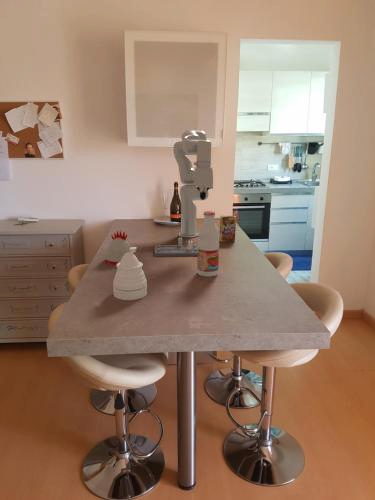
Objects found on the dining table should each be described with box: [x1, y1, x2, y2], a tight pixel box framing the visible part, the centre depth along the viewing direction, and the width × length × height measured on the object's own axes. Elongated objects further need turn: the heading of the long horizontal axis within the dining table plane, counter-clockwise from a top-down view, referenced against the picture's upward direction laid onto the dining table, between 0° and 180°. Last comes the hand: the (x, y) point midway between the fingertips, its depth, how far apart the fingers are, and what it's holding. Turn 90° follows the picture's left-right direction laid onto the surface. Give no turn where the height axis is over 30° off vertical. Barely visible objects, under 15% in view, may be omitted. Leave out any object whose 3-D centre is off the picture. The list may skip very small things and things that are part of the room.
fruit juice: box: [196, 210, 220, 278], centre depth 170 cm, size 9×9×28 cm
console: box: [154, 243, 198, 257], centre depth 207 cm, size 16×24×2 cm, turn 94°
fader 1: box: [177, 236, 183, 247], centre depth 211 cm, size 3×2×5 cm
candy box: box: [218, 215, 237, 243], centre depth 229 cm, size 9×4×15 cm, turn 98°
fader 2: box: [187, 239, 193, 250], centre depth 205 cm, size 3×2×5 cm
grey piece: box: [105, 230, 132, 266], centre depth 189 cm, size 14×14×15 cm
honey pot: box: [112, 246, 148, 301], centre depth 147 cm, size 13×13×18 cm
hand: (202, 199), depth 208 cm, fingers closed
